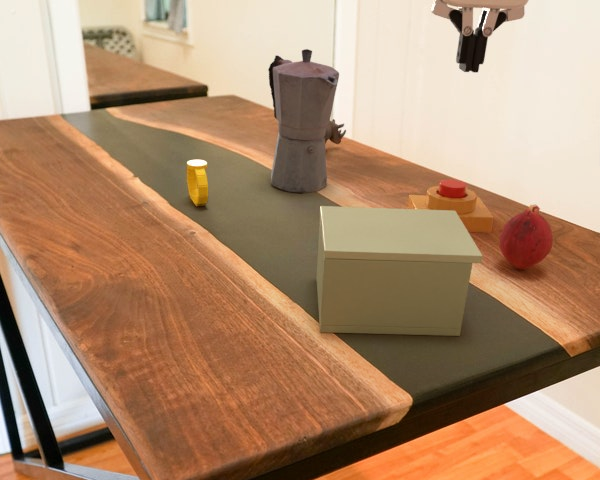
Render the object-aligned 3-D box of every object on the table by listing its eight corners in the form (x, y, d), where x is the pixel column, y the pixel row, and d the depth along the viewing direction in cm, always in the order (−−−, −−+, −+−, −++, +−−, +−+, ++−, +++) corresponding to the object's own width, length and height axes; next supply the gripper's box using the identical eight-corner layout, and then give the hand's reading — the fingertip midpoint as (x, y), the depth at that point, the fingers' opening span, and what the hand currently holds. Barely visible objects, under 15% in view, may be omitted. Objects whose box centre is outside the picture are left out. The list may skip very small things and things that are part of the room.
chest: (437, 282, 74) (446, 217, 70) (460, 336, 64) (472, 263, 60) (316, 278, 74) (319, 213, 70) (319, 332, 63) (324, 259, 60)
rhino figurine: (353, 149, 121) (355, 116, 118) (295, 161, 113) (296, 126, 110) (338, 144, 124) (340, 112, 121) (280, 155, 116) (281, 121, 113)
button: (461, 191, 91) (463, 179, 90) (467, 200, 88) (469, 188, 87) (435, 191, 91) (437, 178, 90) (441, 200, 88) (442, 187, 87)
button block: (476, 211, 95) (481, 184, 93) (491, 232, 88) (496, 204, 86) (407, 209, 94) (410, 182, 92) (416, 230, 87) (420, 202, 85)
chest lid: (454, 217, 70) (455, 210, 70) (481, 263, 60) (483, 255, 60) (319, 212, 70) (320, 205, 69) (324, 258, 60) (324, 250, 59)
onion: (534, 285, 74) (550, 218, 70) (486, 270, 77) (498, 205, 73) (551, 268, 78) (567, 204, 74) (505, 255, 81) (518, 193, 77)
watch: (182, 197, 95) (180, 156, 93) (201, 195, 96) (199, 155, 94) (194, 211, 91) (192, 169, 88) (213, 208, 92) (212, 167, 89)
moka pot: (307, 203, 95) (313, 57, 85) (241, 176, 105) (240, 43, 95) (352, 190, 101) (363, 52, 91) (286, 166, 111) (289, 39, 101)
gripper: (434, -114, 67) (412, 73, 76) (578, -107, 68) (539, 78, 76) (421, -109, 74) (402, 63, 82) (552, -102, 74) (519, 67, 83)
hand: (468, 70), depth 79 cm, fingers closed
